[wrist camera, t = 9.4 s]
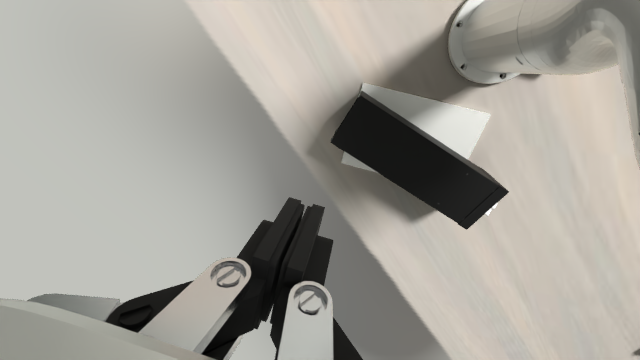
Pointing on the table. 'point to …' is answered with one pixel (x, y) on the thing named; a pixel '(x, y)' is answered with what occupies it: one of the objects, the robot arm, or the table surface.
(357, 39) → the table surface
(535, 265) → the table surface
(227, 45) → the table surface
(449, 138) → the white mat
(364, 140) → the black rectangular box
